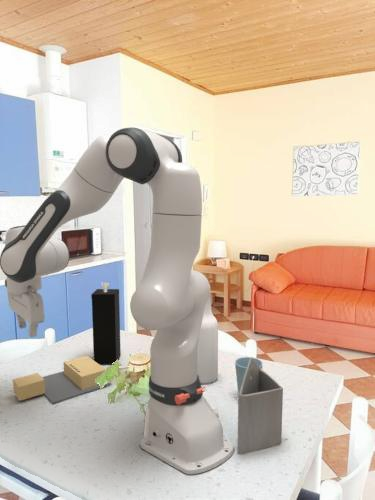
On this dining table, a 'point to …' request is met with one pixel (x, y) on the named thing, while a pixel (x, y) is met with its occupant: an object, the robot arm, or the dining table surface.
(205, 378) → the alcohol
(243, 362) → the cup
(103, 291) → the black square bottle
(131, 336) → the dining table surface
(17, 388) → the small cardboard box
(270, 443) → the planter
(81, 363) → the tan block on base
